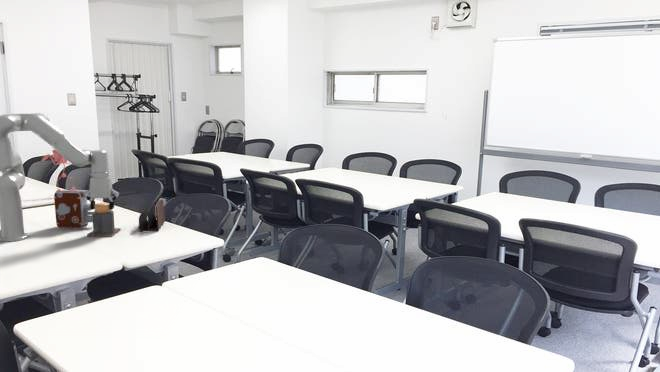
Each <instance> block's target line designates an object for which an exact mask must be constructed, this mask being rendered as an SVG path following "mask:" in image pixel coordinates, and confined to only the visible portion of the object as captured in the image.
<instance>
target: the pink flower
mask: <svg viewBox="0 0 660 372" xmlns="http://www.w3.org/2000/svg"><path fill="white" fill-rule="evenodd" d="M50 154H51V153H47V154H46V155H44V156H43V157H42V158H41V163H42V162H43V163H44V161H46V160H48V158H50V159H51V161H52V162H53V163H52V164H53V165H55V166H56V165H57V166H58V165H63V171H62V172H63V173H62V174H61V176H60V177H59V178H58V179H57V180H56V184H57V186H59V180H60V179H61V178H66V177H67V178H70V179H72V180H74V177H71V176H67V173H65V169H66V165H70V166H71V165H72V166H74V165H73V164H72V163H70V162H69V163H68V160H66V159H65V158H64V157H62V156H61V155H60V154H59V153H58V152H57V151H56V150H55V149H52V154H51V155H50ZM57 162H58V163H57ZM65 164H66V165H65ZM70 190H77V189H76V187H75V186H72V187H70ZM58 191H61V189H60V188H59V187H57V190H56V191H55V192H58ZM50 197H51V196H50V195H49V196H48V198H50Z"/></svg>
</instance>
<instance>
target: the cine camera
mask: <svg viewBox="0 0 660 372" xmlns="http://www.w3.org/2000/svg"><path fill="white" fill-rule="evenodd" d="M87 191H89V190H87V189H85V190H84V189H76V190H71V189H62V190H61V189H60V191H58V192H56V191H55V192H54V194H53V195H54V196H53V201H54V211H55V223H56V227H57V228H59V229H83V228H86V227H87V226H88V225H89V223H93V218H92V212H93V211H92V208H91V204H90V203H88V199H87V198H86V196H85V195H84V193H85V192H87Z"/></svg>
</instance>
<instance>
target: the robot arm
mask: <svg viewBox="0 0 660 372" xmlns="http://www.w3.org/2000/svg"><path fill="white" fill-rule="evenodd" d="M15 132H31V133H33V134H35V135H36V136H38V137H39V138H40V139H41V140H43V142H46V143H47V144H48V145H49V146H51V148H52V149H53V150H56V151H57V152H58V153H59V154H60V155H61V156H62V157H64V158H65V159H66V160H67V162H69V164H73V165H72V166H75V167H79V168H82V167H85V166H86V165H91V172H89V176H91V177H90V179H89V190H88V191H87V192H85V193H84V195H85V196H86V198H87V201H89V202H90V204H91V208H92V210H95V208H94V205H95V204H96V201H95V199H108V200H109V202H108V203H109V205H110V210H112V211H113V209H114V208H115V201H116V200H117V199H118V197H119V195H120V192H118V191H117V190H115V189H113V184H112V183H113V182H112V180H111V177H110V175H109V161H108V160H109V159H108V157H109V156H108V152H107V151H106V150H103V149H96V150H91V149H90V150H88V149H79V148H78V147H76V146H75V145H74V144H72V142H71V141H70V140H69V139H68V138H67V136H66V134H65V132H64V131H62V130H61V129H59V128H58V127H57V126H56V125H55V124H53V123H52V122H50V119H49V117H48V115H45V114H43V113H40V112H37V113H36V112H35V113H7V114H1V115H0V172H1V175H0V242H17V241H21V240H25V239H27V238H28V237H29V233H26V232H25V224H24V223H25V222H24V215H23V213H24V212H23V205H22V198H21V193H20V190H21V189H23V187H24V186H25V184H26V176H25V170H24V165H23V161H22V158H21V156H20V154H19V153H18V152H16V151H15V150H13V149H12V143H11V141H10V140H11V139H10V137H9V134H10V133H15ZM92 210H91V211H92Z"/></svg>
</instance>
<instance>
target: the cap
mask: <svg viewBox="0 0 660 372" xmlns="http://www.w3.org/2000/svg"><path fill="white" fill-rule="evenodd" d="M94 208H95V209H94V211H95V213H96V214H105V213H110V212H111V210H110V205H109V202H99V203H95V205H94Z"/></svg>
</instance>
